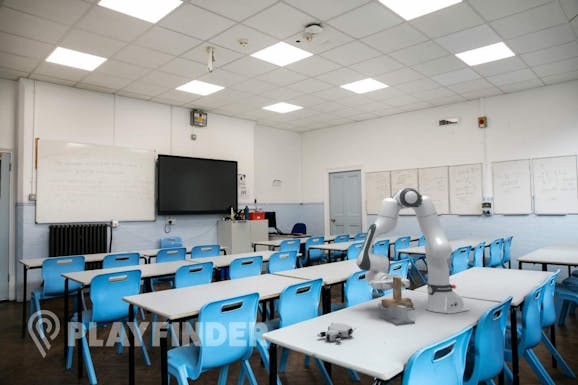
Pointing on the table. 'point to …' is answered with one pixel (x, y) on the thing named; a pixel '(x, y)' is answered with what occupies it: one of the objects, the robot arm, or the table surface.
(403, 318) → the ridge stand
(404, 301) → the wooden t-shaped block
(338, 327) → the robot toy
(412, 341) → the table surface
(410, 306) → the packaged product
